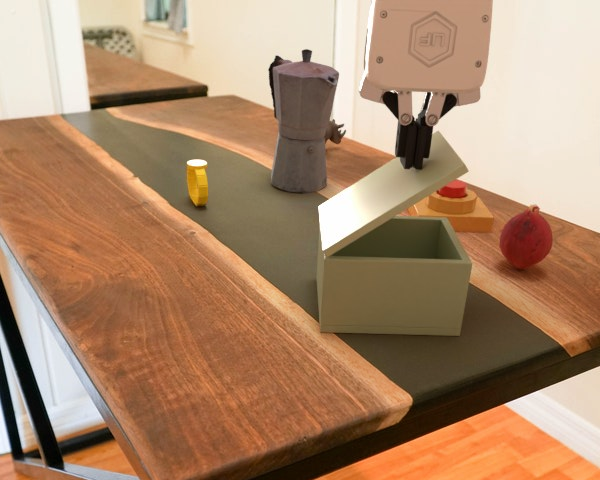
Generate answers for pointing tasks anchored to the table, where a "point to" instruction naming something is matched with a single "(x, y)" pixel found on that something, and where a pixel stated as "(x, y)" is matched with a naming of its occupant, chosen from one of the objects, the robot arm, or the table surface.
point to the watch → (197, 181)
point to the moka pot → (301, 121)
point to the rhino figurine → (334, 132)
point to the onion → (526, 239)
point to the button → (454, 190)
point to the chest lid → (386, 195)
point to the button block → (456, 211)
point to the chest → (396, 280)
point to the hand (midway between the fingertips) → (410, 164)
